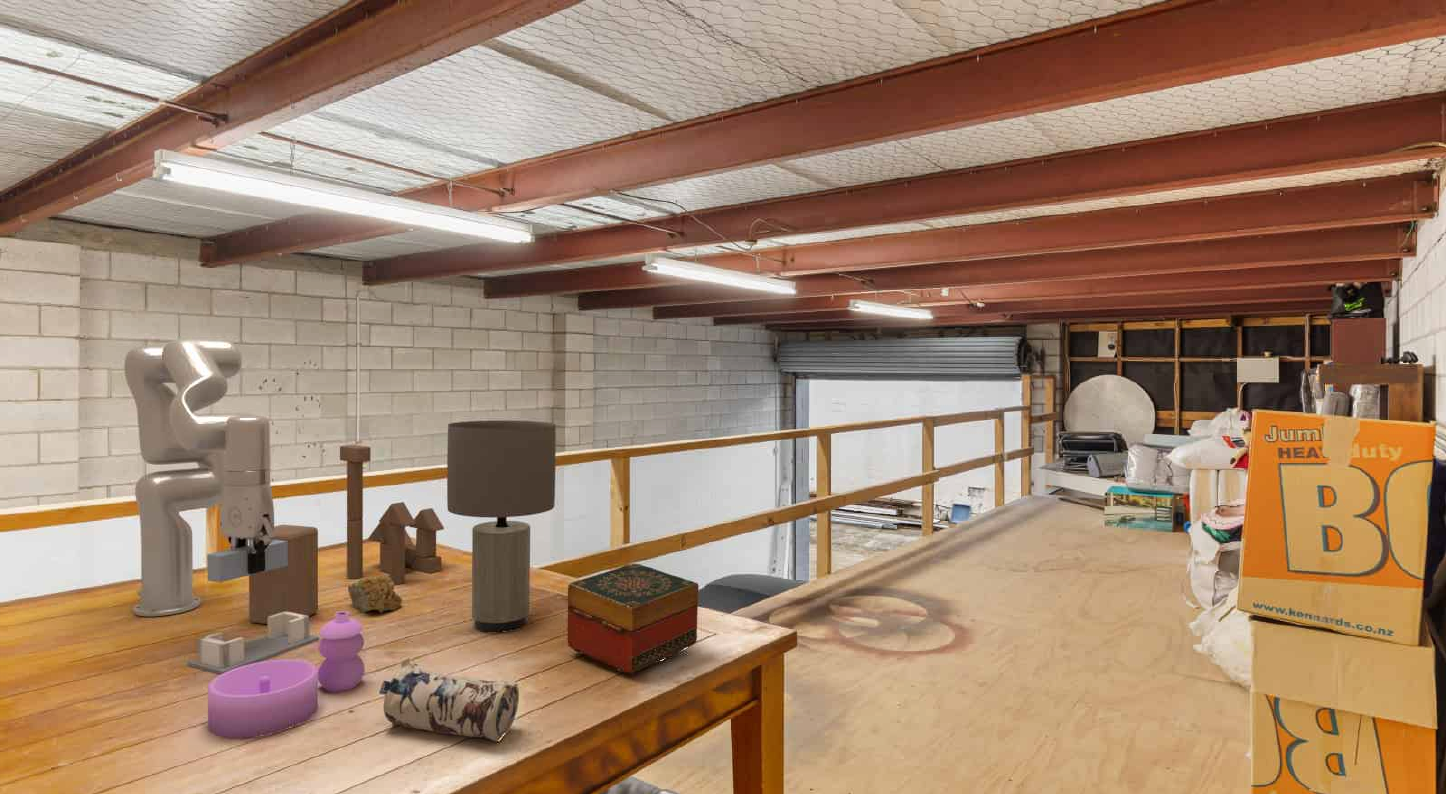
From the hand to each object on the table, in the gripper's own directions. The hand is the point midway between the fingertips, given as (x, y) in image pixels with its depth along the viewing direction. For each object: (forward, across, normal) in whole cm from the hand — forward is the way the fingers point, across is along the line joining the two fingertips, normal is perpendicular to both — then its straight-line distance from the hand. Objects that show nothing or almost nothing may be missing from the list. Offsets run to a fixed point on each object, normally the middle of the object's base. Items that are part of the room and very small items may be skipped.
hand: (249, 570), depth 152 cm
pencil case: (+17, +59, -8) cm, 62 cm away
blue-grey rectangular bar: (+1, 0, 0) cm, 1 cm away
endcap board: (+16, +2, 0) cm, 16 cm away
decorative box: (+17, +69, +31) cm, 77 cm away
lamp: (+17, +34, +34) cm, 51 cm away
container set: (+17, +29, -13) cm, 36 cm away
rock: (+16, 0, +30) cm, 34 cm away
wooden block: (+16, -11, +16) cm, 25 cm away
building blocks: (+16, -17, +53) cm, 58 cm away
